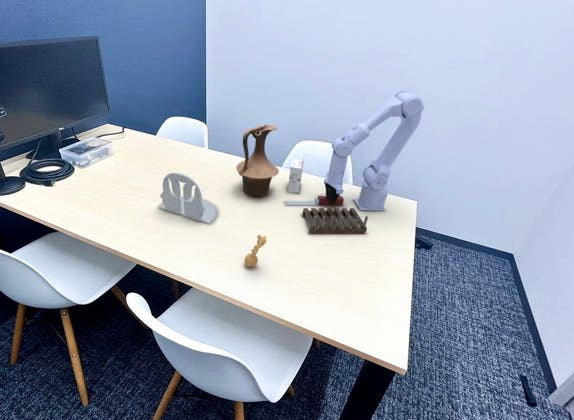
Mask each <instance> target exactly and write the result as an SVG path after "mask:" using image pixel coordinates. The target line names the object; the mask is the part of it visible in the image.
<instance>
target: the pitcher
mask: <svg viewBox="0 0 574 420" xmlns="http://www.w3.org/2000/svg"><path fill="white" fill-rule="evenodd" d="M276 130H278V127H277V126H275V125H271V124H264V125H258V126H254V127H251V128H249V129H246V131H245V132H244V133H243V135H242V136H243V137H242V147H243V152H244V153H243V154H244V160H242V161H241V162H239V163H237V165H236V167H235V169H236V171H237V173H238V175H239V176H241V181H242V192H243V193H244V195H246V196H248V197H252V198H263V197H265V196H267V195H268V194H269V190H270V185H271V182H272V179H273V177H276V176H277V175H278V174H279V172H280V170H279V168H278V167H277V166H276V165H275V164H273V163H272V162H271V161H270V160H269V159H268V157H267V154H266V149H265V146H266V139H267V137H268V135H269V134H270V133H271V132H274V131H276ZM249 136H252V137H253V138H254V140H255V144H254V150H253V152H252V153H251V155H250V156H249V146H248V139H249Z"/></svg>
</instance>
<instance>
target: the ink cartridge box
mask: <svg viewBox="0 0 574 420" xmlns="http://www.w3.org/2000/svg"><path fill="white" fill-rule="evenodd" d="M304 162H305V154H303V156H302V159H297V158H292V159H291V163H290V167H289V168H290V169H289V176H288V185H287V193H294V194H299V193H300V188H301V184H302V183H301V182H302V176H303V171H304V170H303V169H304Z"/></svg>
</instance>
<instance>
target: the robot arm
mask: <svg viewBox="0 0 574 420" xmlns="http://www.w3.org/2000/svg"><path fill="white" fill-rule="evenodd" d="M424 110H425V106H424V102H423V100H422V99H421V97H419V96H417V95H414V94H412V93H411V92H410V91H408V90H400V91H398V92H396V93H395V95H393V96H392V97H390V98H389V100H387V102H386V104H384V105H383V106H382V107H381V108H380V109H378V110H377V111H376V112H375V113H374V114H373V115H372V116H371V117H370V118H368V119H367V120H366V121H365V122H364V123H357V124H353V125H352V126H351V127H352V128H351V129H350V130H349V131H348V132H346V133H345V134H342V135H341V136H340V137H337V138H335V140H334V141H333V142H332V143H331V149H332V150H333V151H332V153H331V159H330V164H329V168H328V171H327V172H326V175H325V177H326V178H324V179H323V184H324V188H325V196H329V204H335V202H336V200H337V198H338V197H339V196H342V195H343V193H344V188H343V185H344V183H343V182H344V181H343V180H344V176H345V171H346V167H347V164H348V159H349V158H348V157H349V156H350V155H351V154H352V153H353V150H354V149H355V148H356V147H357V146H358V145H360V144H362V142H364V141H365V140H366V139H367V138H369V137H370V133H371V131H372V130H375V128H377V127H378V126H379V125H381V124H382V123H384V122H385V121H387V120H389V119H390V118H392V117H394V118H395V117H397V118H400V123H399V124H398V126H397V128H396V130H395V131H394V132H393V134H392V136H391V137H390V138H389V140H388V142H387V143H386V145H385V147H384V148H383V150H382V151H381V153H380V154H379V156H378V157H377V159H376V160H373V161H371V162H370V164H369V165H367V166H366V167H365V168H364V169H363V171H362V177H363V181H362V183H361V184H362V185H361V188H360V192H359V195H358V198H354V199H353V202H355V204H356V205H357V208H358V209H359V210H360V211H384V210H385V209H384V207H385V204H386V201H387V196H388V189H387V186H386V185H387V184H388V183H387V182H388V179H389V177H390V175H391V166H392V165H393V163H394V162H395V161H396V159H397V158H398V156H399V155H400V154H401V152H402V150H403V148H405V146H406V145H407V143H408V142H409V140H410V138H411V137H412V136H413V134H414V132H415V131H416V130H417V128H418V127H419V125H420V123H421V118H422V113H423V111H424Z"/></svg>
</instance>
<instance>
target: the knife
mask: <svg viewBox="0 0 574 420" xmlns="http://www.w3.org/2000/svg"><path fill="white" fill-rule="evenodd" d="M344 202H345V197H344V196H342V195H340V196H339V197H338V198H337V200H336V202H335V204H329V196H326V195H317V197H315V198H314V201H285V204H286V206H299V207H300V206H302V207H303V206H304V207H305V206H306V207H307V206H308V207H309V206H311V207H312V206H315V207H319V206H322V207H325V206H330V207H331V206H333V207H337V206H338V207H340V206H341V207H343V206H344Z"/></svg>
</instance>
